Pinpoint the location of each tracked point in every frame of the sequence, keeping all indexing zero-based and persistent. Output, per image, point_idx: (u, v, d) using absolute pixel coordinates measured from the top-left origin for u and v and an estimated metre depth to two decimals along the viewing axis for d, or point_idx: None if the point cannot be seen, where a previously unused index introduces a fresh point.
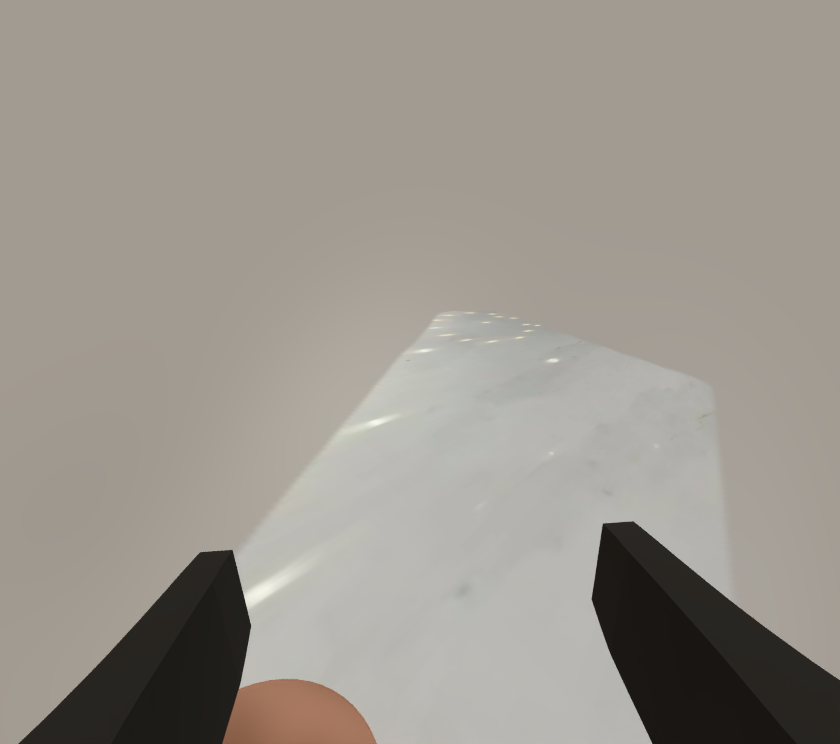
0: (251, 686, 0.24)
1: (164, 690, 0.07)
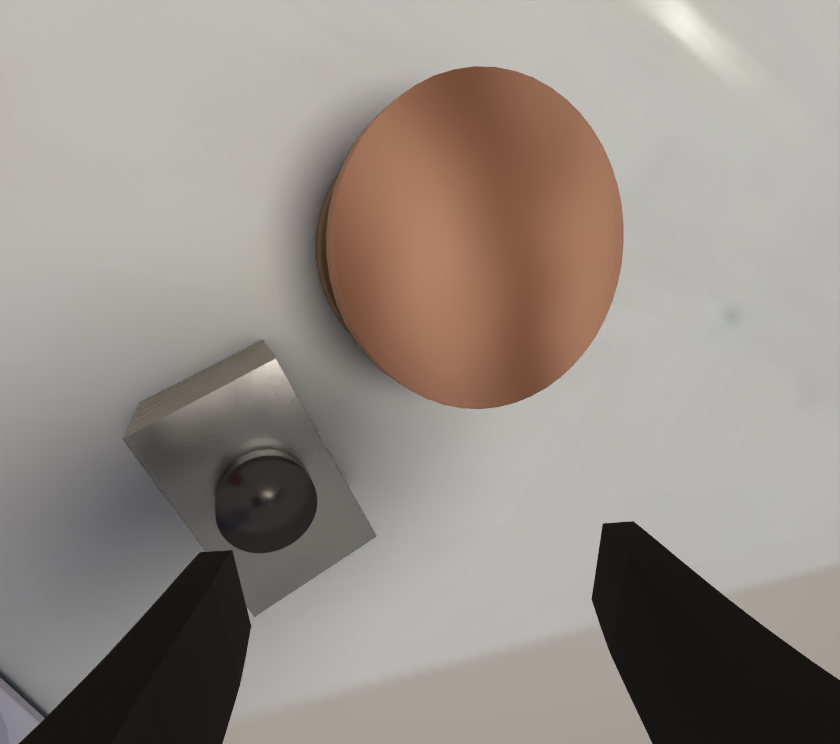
0: (597, 143, 0.16)
1: (164, 689, 0.07)
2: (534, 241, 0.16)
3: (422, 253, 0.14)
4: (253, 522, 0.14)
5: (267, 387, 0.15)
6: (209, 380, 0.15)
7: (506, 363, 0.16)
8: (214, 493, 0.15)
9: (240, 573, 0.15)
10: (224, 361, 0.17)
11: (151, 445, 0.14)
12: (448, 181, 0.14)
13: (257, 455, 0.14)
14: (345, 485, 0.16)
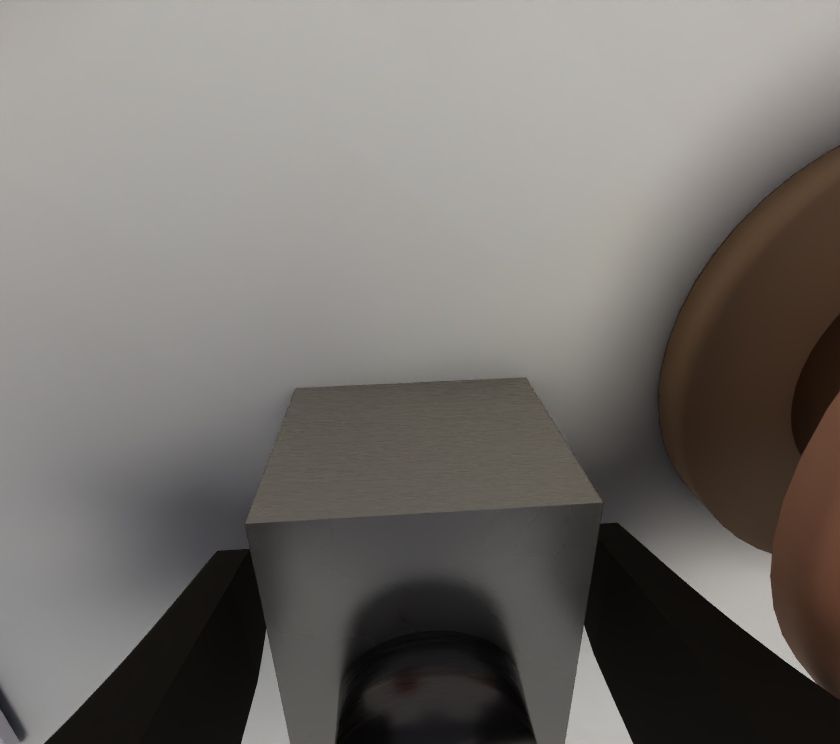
0: None
1: (187, 687, 0.07)
2: None
3: None
4: None
5: (552, 544, 0.07)
6: (432, 440, 0.08)
7: None
8: (351, 665, 0.07)
9: None
10: (454, 389, 0.09)
11: (289, 554, 0.06)
12: None
13: (464, 658, 0.07)
14: (563, 733, 0.08)
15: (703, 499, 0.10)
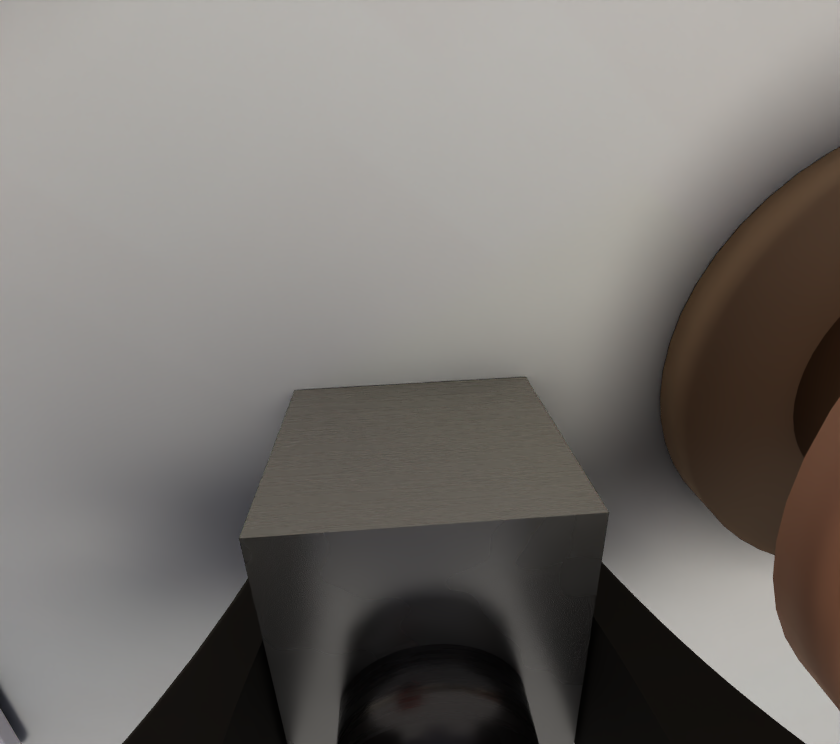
0: None
1: (258, 681, 0.07)
2: None
3: None
4: None
5: (556, 555, 0.06)
6: (432, 448, 0.08)
7: None
8: (351, 680, 0.07)
9: None
10: (455, 394, 0.09)
11: (286, 568, 0.06)
12: None
13: (467, 673, 0.07)
14: None
15: (706, 500, 0.10)
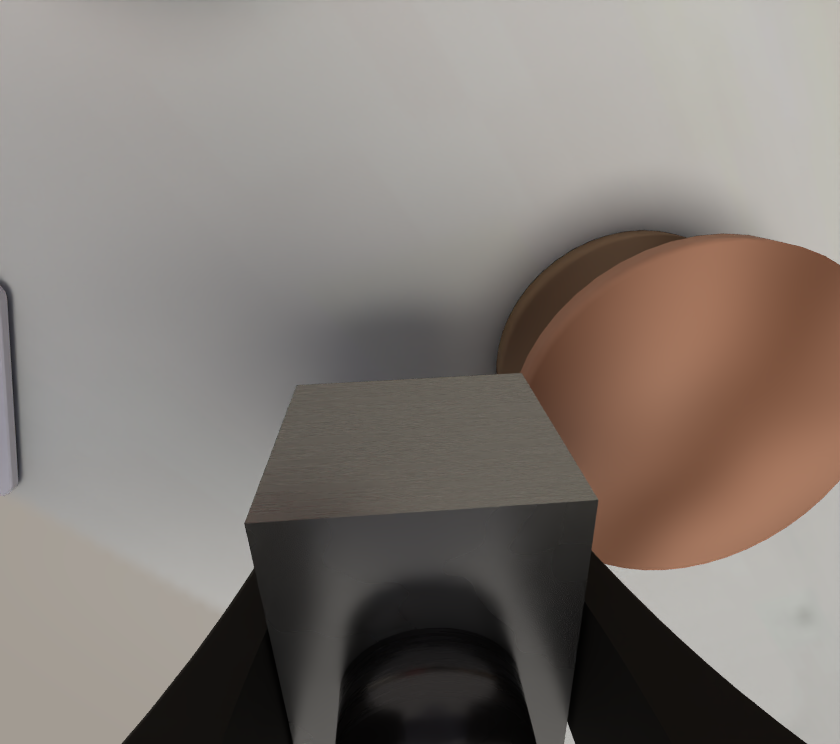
0: None
1: (258, 682, 0.07)
2: (737, 449, 0.14)
3: (640, 382, 0.13)
4: None
5: (548, 541, 0.07)
6: (430, 439, 0.08)
7: (614, 523, 0.15)
8: (351, 662, 0.07)
9: None
10: (452, 389, 0.09)
11: (289, 553, 0.06)
12: (721, 343, 0.12)
13: (462, 654, 0.07)
14: (562, 728, 0.08)
15: None
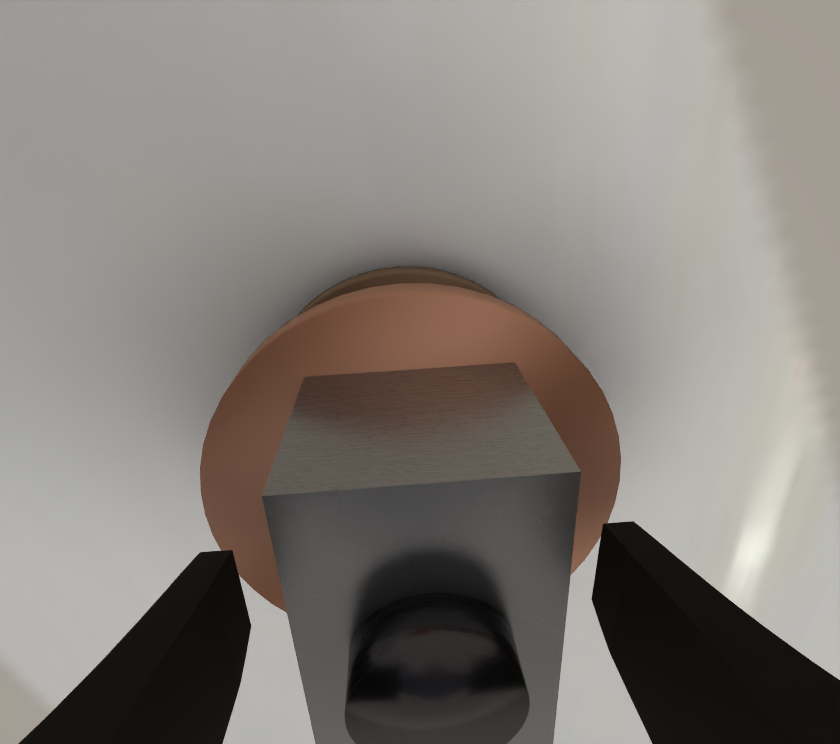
0: (585, 551, 0.13)
1: (164, 689, 0.07)
2: None
3: None
4: (402, 723, 0.08)
5: (536, 510, 0.07)
6: (429, 422, 0.09)
7: None
8: (359, 626, 0.08)
9: (336, 732, 0.09)
10: (449, 377, 0.10)
11: (301, 523, 0.07)
12: None
13: (461, 616, 0.08)
14: (555, 689, 0.09)
15: None
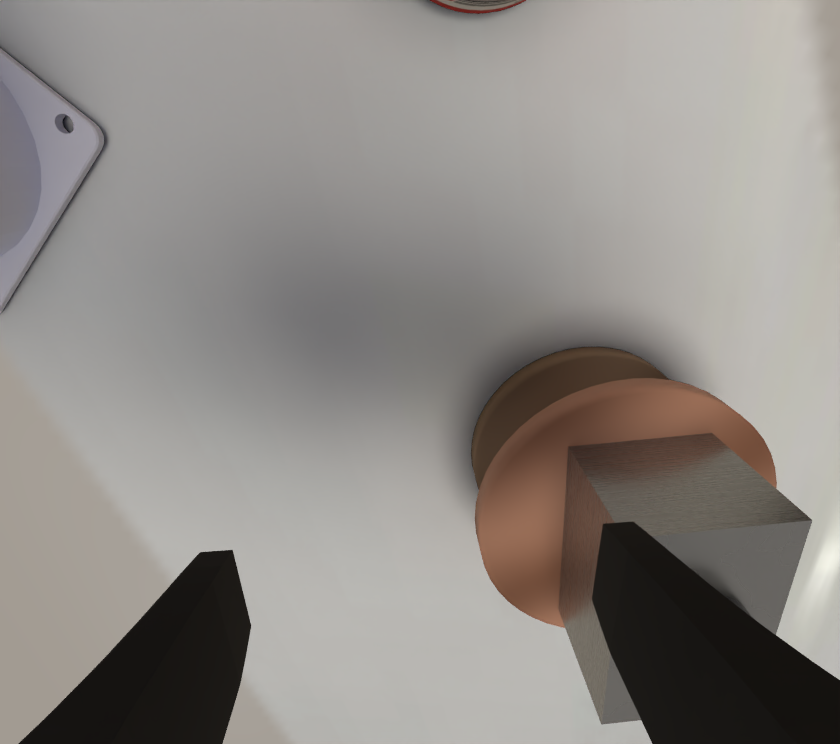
0: None
1: (164, 689, 0.07)
2: None
3: None
4: None
5: (781, 543, 0.12)
6: (688, 484, 0.13)
7: (531, 571, 0.17)
8: None
9: (620, 687, 0.14)
10: (674, 446, 0.15)
11: None
12: None
13: None
14: None
15: (477, 448, 0.20)
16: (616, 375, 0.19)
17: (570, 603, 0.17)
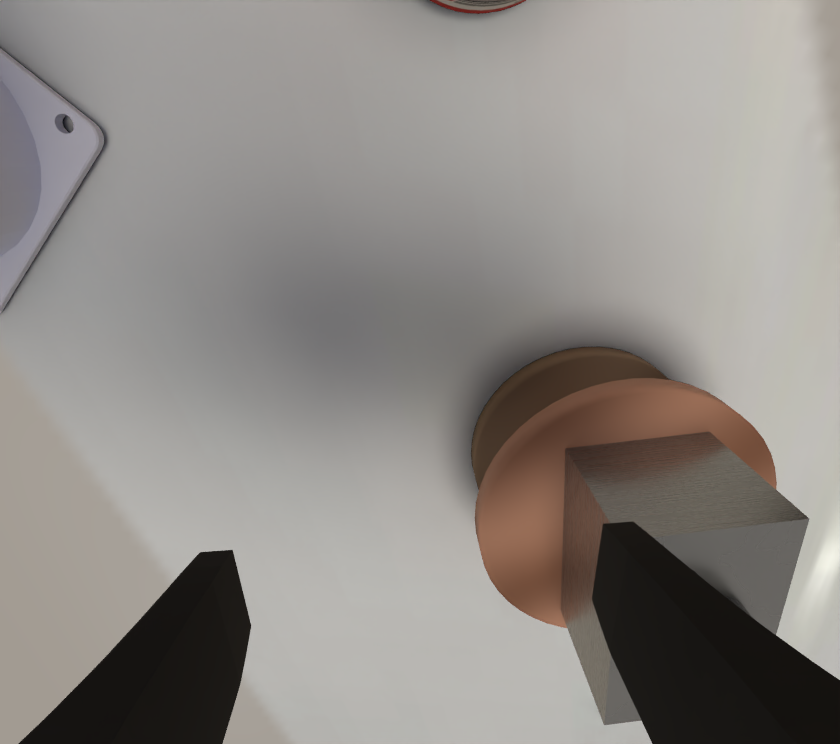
0: None
1: (164, 689, 0.07)
2: None
3: None
4: None
5: (778, 542, 0.12)
6: (685, 484, 0.13)
7: (531, 571, 0.17)
8: None
9: (622, 688, 0.14)
10: (672, 446, 0.15)
11: None
12: None
13: None
14: None
15: (477, 448, 0.20)
16: (616, 375, 0.19)
17: (571, 603, 0.17)
